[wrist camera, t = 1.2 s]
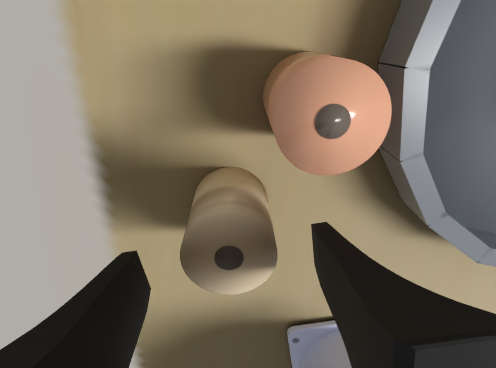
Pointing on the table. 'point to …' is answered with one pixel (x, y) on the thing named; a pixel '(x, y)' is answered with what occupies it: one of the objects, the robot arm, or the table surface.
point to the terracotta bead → (326, 111)
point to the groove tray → (445, 118)
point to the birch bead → (229, 233)
